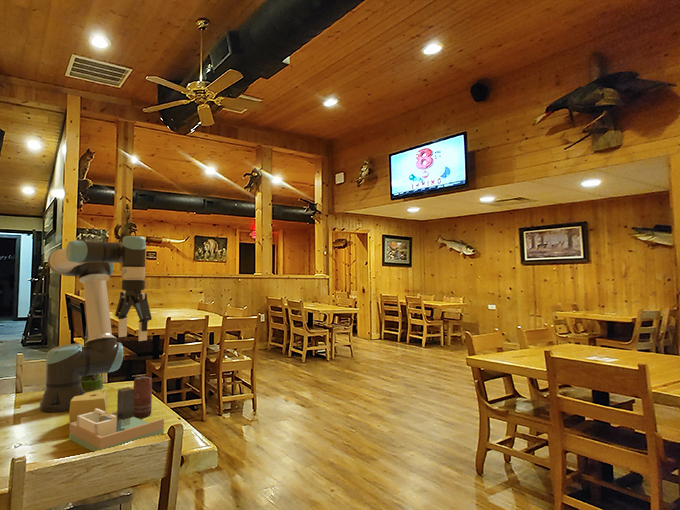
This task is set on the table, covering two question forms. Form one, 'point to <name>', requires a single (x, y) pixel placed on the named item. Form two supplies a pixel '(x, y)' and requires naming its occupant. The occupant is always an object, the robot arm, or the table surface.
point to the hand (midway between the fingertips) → (132, 338)
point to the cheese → (87, 404)
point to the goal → (97, 422)
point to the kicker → (124, 407)
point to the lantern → (91, 378)
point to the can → (142, 396)
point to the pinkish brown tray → (126, 434)
